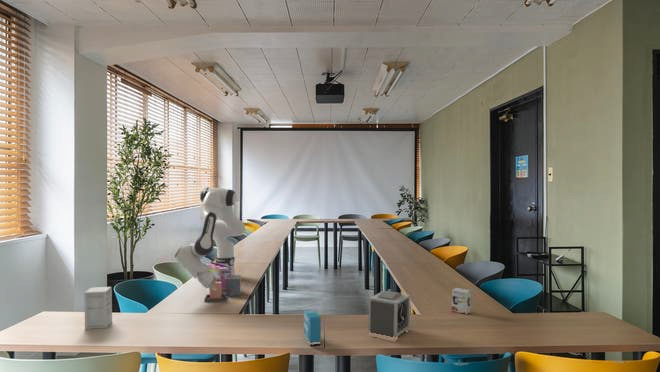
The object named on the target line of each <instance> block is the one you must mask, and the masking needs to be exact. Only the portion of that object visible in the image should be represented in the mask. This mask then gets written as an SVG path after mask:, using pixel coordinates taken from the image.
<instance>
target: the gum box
mask: <svg viewBox="0 0 660 372" xmlns="http://www.w3.org/2000/svg"><path fill="white" fill-rule="evenodd" d="M202 263H203V264H206V265H207V268H208V269H209V270H210V271H211V272H212V273H213V274H214V276H215V277H214V279H215V280H216V282H222V283H221V291H224V290H225V291H226V279H225V276H227V275H231V267H228V266H224V265H221V264H218V263H215V262H214V261H211V262H210V263H204V262H202Z"/></svg>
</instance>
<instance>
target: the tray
mask: <svg viewBox="0 0 660 372" xmlns="http://www.w3.org/2000/svg"><path fill="white" fill-rule="evenodd" d="M226 300H227V296H226V293H224V294H221V298H210V293H209V294H206V295H205V297H204V303H220V302H226Z"/></svg>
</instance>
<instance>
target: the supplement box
mask: <svg viewBox="0 0 660 372" xmlns="http://www.w3.org/2000/svg"><path fill="white" fill-rule="evenodd" d="M112 288H113V287H112V286H98V287H95V286H94V287H90V288H89V289H87V290H86V291H85V292H84V293H83V294H84V297H83V298H84V330H91V329H92V328H96V329H107V328H108V327H109V326H110V325H111V323H113V303H112V302H113V298H112V297H113V296H112V295H113V292H112V291H113V289H112Z"/></svg>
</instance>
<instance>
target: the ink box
mask: <svg viewBox="0 0 660 372" xmlns="http://www.w3.org/2000/svg"><path fill="white" fill-rule="evenodd" d="M471 297H472V291H471V289H466V288H459V287H455V288H453V289H452V291H451V311H452V310H456V311H461V312H469V311H470V312H471V305H472V302H471V300H472V298H471Z"/></svg>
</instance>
